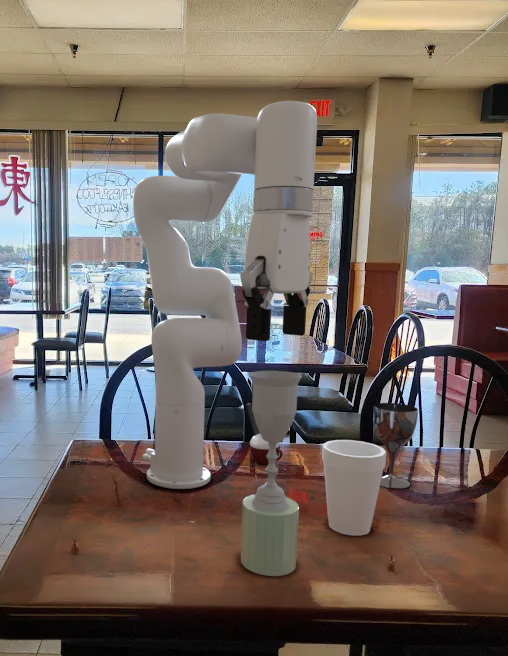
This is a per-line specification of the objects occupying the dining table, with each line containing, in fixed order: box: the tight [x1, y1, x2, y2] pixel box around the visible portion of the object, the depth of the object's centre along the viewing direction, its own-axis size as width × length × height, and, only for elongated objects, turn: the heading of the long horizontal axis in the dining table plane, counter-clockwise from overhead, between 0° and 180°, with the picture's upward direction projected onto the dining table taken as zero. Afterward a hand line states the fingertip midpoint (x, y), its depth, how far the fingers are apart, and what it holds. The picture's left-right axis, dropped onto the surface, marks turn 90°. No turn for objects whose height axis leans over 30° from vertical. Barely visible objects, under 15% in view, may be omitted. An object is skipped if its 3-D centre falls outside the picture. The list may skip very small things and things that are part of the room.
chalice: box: [249, 370, 303, 511], centre depth 78 cm, size 7×7×18 cm
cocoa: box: [245, 402, 283, 465], centre depth 123 cm, size 10×6×12 cm, turn 16°
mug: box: [240, 494, 300, 577], centre depth 81 cm, size 10×8×8 cm
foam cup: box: [321, 439, 387, 536], centre depth 91 cm, size 10×9×13 cm
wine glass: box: [372, 402, 419, 489], centre depth 112 cm, size 8×8×15 cm
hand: (276, 337), depth 76 cm, fingers open, 9 cm apart
